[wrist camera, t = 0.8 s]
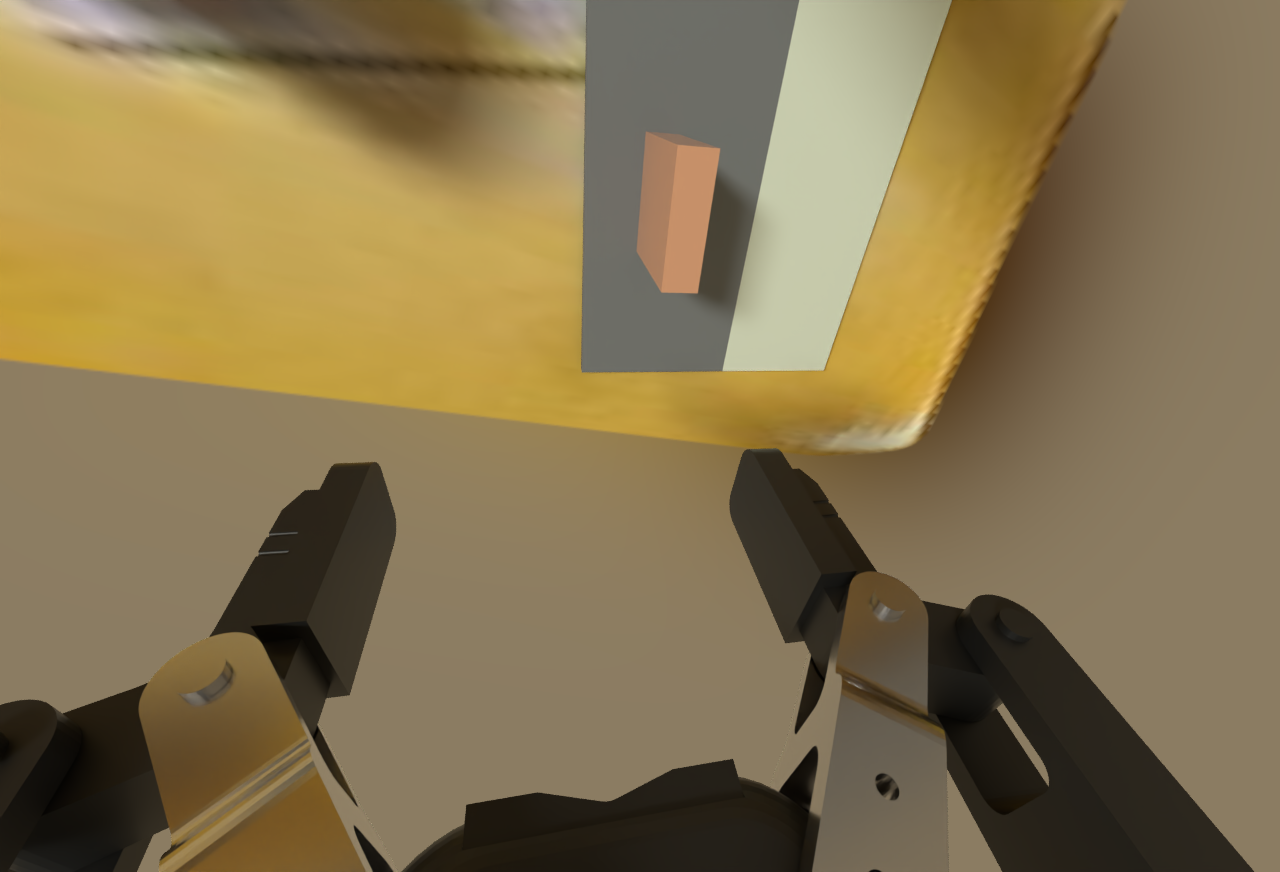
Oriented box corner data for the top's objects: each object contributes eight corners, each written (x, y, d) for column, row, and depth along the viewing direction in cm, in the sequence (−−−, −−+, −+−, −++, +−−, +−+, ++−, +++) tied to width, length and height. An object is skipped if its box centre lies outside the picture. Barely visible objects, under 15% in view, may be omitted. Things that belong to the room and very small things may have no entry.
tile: (645, 131, 25) (677, 144, 19) (680, 134, 25) (721, 148, 19) (636, 251, 28) (661, 292, 22) (666, 252, 28) (698, 293, 23)
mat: (587, -104, 20) (589, -108, 19) (956, -37, 23) (965, -39, 23) (581, 368, 33) (581, 372, 32) (820, 366, 36) (823, 370, 36)
